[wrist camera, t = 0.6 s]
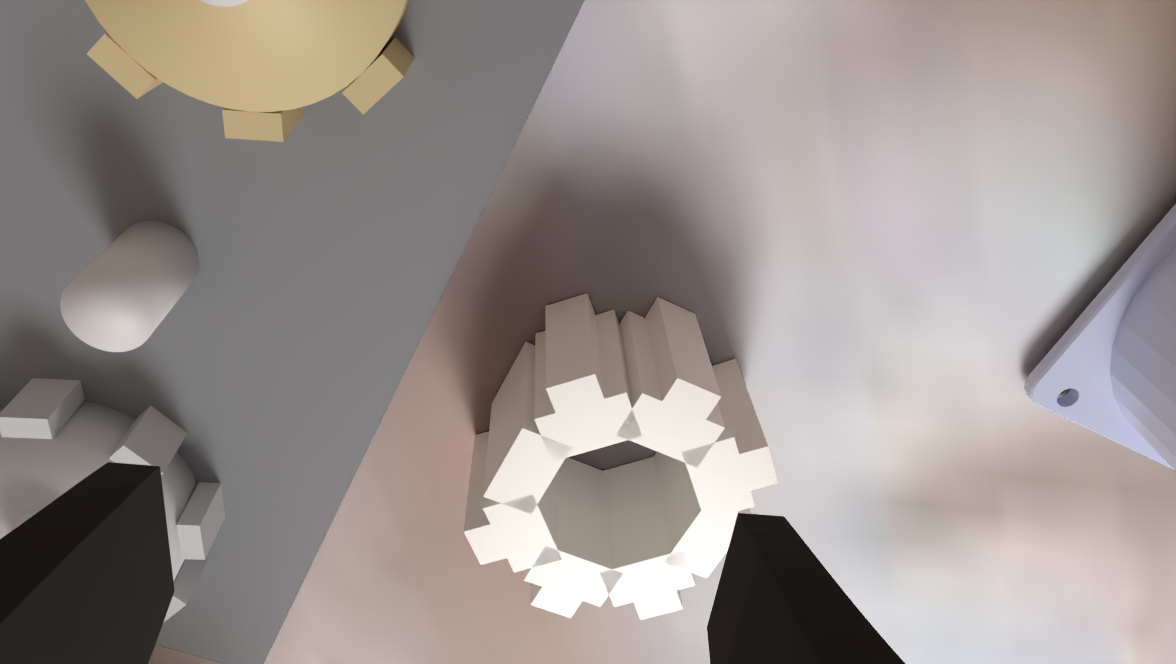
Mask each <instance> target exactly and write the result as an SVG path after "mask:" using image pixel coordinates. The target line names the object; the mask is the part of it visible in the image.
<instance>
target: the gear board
mask: <svg viewBox="0 0 1176 664" xmlns="http://www.w3.org/2000/svg"><path fill="white" fill-rule="evenodd" d="M583 2H584V0H0V539H1V538H2V537H4V536H5V535H7V534H8V533H10V532H11V531H12V530H14V529H15V528H17V527H18V526H20V525H21V524H22V523H24V522H25V521H26V520H28V519H29V518H31V517H32V516H33V515H35V514H36V513H38V512H39V511H40V510H42V509H43V508H44V507H46V506H47V505H49V504H50V503H51V502H53V501H54V500H55V499H57V498H58V497H60V496H61V495H62V494H64V493H65V492H66V491H68V490H69V489H71V488H72V487H73V486H75V485H76V484H77V483H79V482H80V481H82V480H83V479H84V478H86V477H87V476H89V475H90V474H91V473H93V472H94V471H96V470H97V469H99V468H100V467H102V466H103V465H105V464H106V463H108V462H113V463H126V464H138V465H150V466H160V470H161V479H162V487H163V496H164V504H165V513H166V522H167V530H168V539H169V547H170V556H171V564H172V573H173V582H174V590H175V591H174V594H173V597H172V600H171V602H170V605H169V608H168V611H167V614H166V616H165V619H164V622H163V625H162V628H161V631H160V633H159V636H158V639H157V641H156V645H159V646H163V647H166V648H170V649H173V650H177V651H180V652H183V653H187V654H190V655H194V656H197V657H201V658H204V659H207V660H211V661H214V662H218V663H221V664H264V662H265V660H266V658H267V655H268V653H269V651H270V649H271V647H272V645H273V643H274V641H275V639H276V637H277V635H278V633H279V631H280V629H281V627H282V624H283V622H284V620H285V618H286V616H287V614H288V612H289V610H290V608H291V606H292V604H293V602H294V600H295V598H296V596H297V593H298V591H299V589H300V587H301V585H302V583H303V581H304V579H305V577H306V575H307V573H308V571H309V569H310V567H311V564H312V562H313V560H314V558H315V556H316V554H317V552H318V550H319V548H320V546H321V544H322V542H323V540H324V538H325V536H326V533H327V531H328V529H329V527H330V525H331V523H332V521H333V519H334V517H335V515H336V513H337V511H338V509H339V507H340V505H341V502H342V500H343V498H344V496H345V494H346V492H347V490H348V488H349V486H350V484H351V482H352V480H353V478H354V476H355V474H356V471H357V469H358V467H359V465H360V463H361V461H362V459H363V457H364V455H365V453H366V451H367V449H368V447H369V445H370V443H371V440H372V438H373V436H374V434H375V432H376V430H377V428H378V426H379V424H380V422H381V420H382V418H383V416H384V414H385V412H386V409H387V407H388V405H389V403H390V401H391V399H392V397H393V395H394V393H395V391H396V389H397V387H398V385H399V383H400V381H401V378H402V376H403V374H404V372H405V370H406V368H407V366H408V364H409V362H410V360H411V358H412V356H413V354H414V352H415V349H416V347H417V345H418V343H419V341H420V339H421V337H422V335H423V333H424V331H425V329H426V327H427V325H428V323H429V321H430V318H431V316H432V314H433V312H434V310H435V308H436V306H437V304H438V302H439V300H440V298H441V296H442V294H443V292H444V290H445V287H446V285H447V283H448V281H449V279H450V277H451V275H452V273H453V271H454V269H455V267H456V265H457V263H458V261H459V259H460V256H461V254H462V252H463V250H464V248H465V246H466V244H467V242H468V240H469V238H470V236H471V234H472V232H473V230H474V228H475V225H476V223H477V221H478V219H479V217H480V215H481V213H482V211H483V209H484V207H485V205H486V203H487V201H488V199H489V197H490V194H491V192H492V190H493V188H494V186H495V184H496V182H497V180H498V178H499V176H500V174H501V172H502V170H503V168H504V166H505V163H506V161H507V159H508V157H509V155H510V153H511V151H512V149H513V147H514V145H515V143H516V141H517V139H518V137H519V134H520V132H521V130H522V128H523V126H524V124H525V122H526V120H527V118H528V116H529V114H530V112H531V110H532V108H533V106H534V103H535V101H536V99H537V97H538V95H539V93H540V91H541V89H542V87H543V85H544V83H545V81H546V79H547V77H548V75H549V72H550V70H551V68H552V66H553V64H554V62H555V60H556V58H557V56H558V54H559V52H560V50H561V48H562V46H563V44H564V41H565V39H566V37H567V35H568V33H569V31H570V29H571V27H572V25H573V23H574V21H575V19H576V17H577V15H578V13H579V10H580V8H581V6H582V4H583Z"/></svg>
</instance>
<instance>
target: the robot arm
mask: <svg viewBox="0 0 1176 664" xmlns="http://www.w3.org/2000/svg"><path fill="white" fill-rule="evenodd" d="M1070 388H1071V389H1070ZM1024 389H1025V391H1026V394H1027V395H1028V396H1029V398H1030V399H1031V400H1032V401H1033V402H1034V403H1036V404H1037V405H1039V406H1041V407H1043V408H1045V409H1047V410H1049V411H1051V412H1053V413H1056V414H1058V415H1060V416H1062V417H1064V418H1066V419H1068V420H1070V421H1072V422H1075V423H1077V424H1079V425H1081V426H1083V427H1085V428H1087V429H1089V430H1091V431H1093V432H1096V433H1098V434H1100V435H1102V436H1104V437H1106V438H1108V439H1110V440H1112V441H1115V442H1117V443H1119V444H1121V445H1123V446H1125V447H1127V448H1129V449H1131V450H1134V451H1136V452H1138V453H1140V454H1142V455H1144V456H1146V457H1148V458H1150V459H1153V460H1155V461H1157V462H1159V463H1161V464H1163V465H1165V466H1167V467H1169V468H1172V469H1174V470H1175V471H1176V204H1175V205H1174V206H1173V207H1172V208H1171V210H1170V211H1169V212H1168V213H1167V214H1166V215H1165V217H1164V218H1163V219H1162V220H1161V221H1160V222H1159V224H1158V225H1157V226H1156V227H1155V228H1154V229H1153V231H1152V232H1151V233H1150V234H1149V235H1148V236H1147V238H1146V239H1145V240H1144V241H1143V242H1142V243H1141V245H1140V246H1139V247H1138V248H1137V249H1136V250H1135V252H1134V253H1133V254H1132V255H1131V256H1130V258H1129V259H1128V260H1127V261H1126V262H1125V263H1124V265H1123V266H1122V267H1121V268H1120V269H1119V270H1118V272H1117V273H1116V274H1115V275H1114V276H1113V277H1112V279H1111V280H1110V281H1109V282H1108V283H1107V284H1106V286H1105V287H1104V288H1103V289H1102V290H1101V291H1100V293H1099V294H1098V295H1097V296H1096V297H1095V298H1094V300H1093V301H1092V302H1091V303H1090V304H1089V305H1088V307H1087V308H1086V309H1085V310H1084V311H1083V312H1082V314H1081V315H1080V316H1079V317H1078V318H1077V319H1076V321H1075V322H1074V323H1073V324H1072V325H1071V327H1070V328H1069V329H1068V330H1067V331H1066V332H1065V334H1064V335H1063V336H1062V337H1061V338H1060V339H1059V341H1058V342H1057V343H1056V344H1055V345H1054V346H1053V348H1052V349H1051V350H1050V351H1049V352H1048V353H1047V355H1046V356H1045V357H1044V358H1043V359H1042V360H1041V362H1040V363H1039V364H1038V365H1037V366H1036V367H1035V369H1034V370H1033V371H1032V372H1031V373H1030V374H1029V376H1028V378H1027V379H1026V381H1025V387H1024ZM1066 389H1070V390H1069V392H1068V393H1067V394H1066V395H1065V396H1063V397H1060V398H1057V397H1058V396H1059V394H1060V393H1061V392H1062V391H1064V390H1066ZM174 591H175V590H174V582H173V573H172V564H171V556H170V547H169V539H168V530H167V522H166V513H165V504H164V496H163V487H162V479H161V470H160V466H150V465H138V464H126V463H113V462H108V463H106V464H105V465H103V466H102V467H100V468H99V469H97V470H96V471H94V472H93V473H91V474H90V475H89V476H87V477H86V478H84V479H83V480H82V481H80V482H79V483H77V484H76V485H75V486H73V487H72V488H71V489H69V490H68V491H66V492H65V493H64V494H62V495H61V496H60V497H58V498H57V499H55V500H54V501H53V502H51V503H50V504H49V505H47V506H46V507H44V508H43V509H42V510H40V511H39V512H38V513H36V514H35V515H33V516H32V517H31V518H29V519H28V520H26V521H25V522H24V523H22V524H21V525H20V526H18V527H17V528H15V529H14V530H12V531H11V532H10V533H8V534H7V535H5V536H4V537H2V538H1V539H0V664H148V662H149V659H150V657H151V654H152V652H153V649H154V646H155V644H156V641H157V639H158V636H159V633H160V631H161V628H162V625H163V622H164V619H165V616H166V614H167V611H168V608H169V605H170V602H171V600H172V597H173V594H174ZM707 631H708V642H709V652H710V663H711V664H905V663H904V662H903V661H902V660H901V658H900V657H899V656H898V655H897V654H896V653H895V652H894V651H893V649H892V648H891V647H890V646H889V645H888V644H887V643H886V642H885V640H884V639H883V638H882V637H881V636H880V635H879V633H878V632H877V631H876V630H875V629H874V628H873V626H872V625H871V624H870V623H869V622H868V620H867V619H866V618H865V617H864V616H863V615H862V613H861V612H860V611H859V610H858V609H857V607H856V606H855V605H854V604H853V602H852V601H851V600H850V599H849V598H848V596H847V595H846V594H845V593H844V591H843V590H842V589H841V588H840V586H839V585H838V584H837V583H836V581H835V580H834V579H833V578H832V576H831V575H830V574H829V573H828V571H827V570H826V569H825V568H824V566H823V565H822V564H821V563H820V561H819V560H818V559H817V558H816V556H815V555H814V554H813V552H812V551H811V550H810V549H809V547H808V546H807V545H806V544H805V542H804V541H803V540H802V539H801V537H800V536H799V535H798V533H797V532H796V531H795V530H794V528H793V527H792V526H791V525H790V523H789V522H788V521H787V520H786V519H785V517H782V516H770V515H757V514H745V513H738V515H737V518H736V522H735V526H734V530H733V533H732V537H731V541H730V544H729V548H728V552H727V556H726V559H725V563H724V567H723V570H722V574H721V578H720V581H719V585H718V589H717V593H716V596H715V600H714V604H713V607H712V611H711V615H710V619H709V622H708V626H707Z"/></svg>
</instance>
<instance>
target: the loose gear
mask: <svg viewBox="0 0 1176 664" xmlns="http://www.w3.org/2000/svg"><path fill="white" fill-rule="evenodd" d="M545 318H546V330H545V331H542V332H539V333H536V336H535V345H533V344H531V343H528V342H526V341H525V343H524V345H523V347H522V349H521V351H520V352H519V354H518V356H517V358H516V360H515V362H514V363H513V365H512V367H511V369H510V371H509V373H508V374H507V376H506V378H505V380H504V382H503V384H502V385H501V387H500V389H499V391H498V393H497V395H496V396H495V398H494V400H493V402H492V406H491V416H490V427H489V431H488V432H484V433H481V434H478V435H475V439H474V447H473V456H472V465H471V473H470V482H469V491H468V499H467V508H466V517H465V526H464V533H465V535H466V537H467V539H468V541H469V543H470V545H471V547H472V549H473V551H474V553H475V555H476V557H477V558H478V560H479V562H480V564H481V565H483V564H487V563H490V562H494V561H498V560H501V559H505V558H507V559H508V561H509V563H510V565H511V567H512V569H513V571H514V573H515V572H518V571H522V570H524V581H527V582H530V583H531V605H533V606H535V607H538V608H541V609H544V610H547V611H550V612H553V613H556V614H559V615H562V616H565V617H568V618H571V617H572V616H573V614H574V613H575V611H576V610H577V608H578V607H579V605H580V604H581V602H582V601H585V602H588V603H591V604H594V605H597V606H600V607H601V605H602V604H603V602H604V601H605V600H606V598H607V597H608V595H609V596H610V598H611V601H612V603H613V606H614V607H617V606H620V605H624V604H628V603H632V602H634V605H635V607H636V610H637V612H638V615H639V617H640V620H643V619H647V618H651V617H655V616H659V615H662V614H666V613H670V612H674V611H678V610H681V609H683V606H682V600H681V595H680V590H681V589H684V588H688V587H692V586H696V585H695V580H694V575H693V574H696V575H699V576H701V577H704V578H708V576H709V575H710V574H711V572H712V571H713V570H714V568H715V567H716V566H717V564H718V563H719V562H720V560H721V559H722V558H723V556H724V555H725V554H726V552H727V551H728V548H729V544H730V541H731V537H732V533H733V530H734V526H735V522H736V518H737V515H738V513H745V514H751V512H750V509H749V508H752V507H755V505H754V502H753V499H752V495H751V492H750V491H751V490H755V489H759V488H762V487H766V486H769V485H773V484H777V483H778V481H777V477H776V474H775V470H774V466H773V463H772V459H771V455H770V452H769V448H768V445H767V442H766V439H765V437H764V434H763V431H762V429H761V426H760V423H759V420H758V418H757V415H756V412H755V410H754V407H753V404H752V401H751V399H750V396H749V393H748V390H747V388H746V385H745V382H744V380H743V377H742V374H741V371H740V369H739V366H738V363H737V361H736V359H733V360H730V361H726V362H723V363H720V364H716V365H713V366H712V365H711V362H710V359H709V356H708V352H707V349H706V346H705V343H704V340H703V337H702V333H701V330H700V327H699V324H698V321H697V318H696V315H695V314H694V313H692V312H690V311H688V310H685V309H683V308H681V307H679V306H677V305H674V304H672V303H670V302H668V301H665V300H663V299H661V298H659V297H657V299H656V300H655V302H654V304H653V305H652V307H651V309H650V310H649V312H648V313H647V315H646V317H645V318H644V317H642V316H639V315H637V314H635V313H633V312H630V311H627V312H626V314H625V316H624V317H623V319H622V321H621V322H620V324H619V322H618V319H617V316H616V314H615V311H614V310H611V311H608V312H605V313H601V314H598V315H595V313H594V310H593V307H592V305H591V302H590V299H589V296H588V294H587V293H586V294H583V295H580V296H576V297H573V298H570V299H567V300H563V301H560V302H557V303H554V304H550V305H547V306H545ZM627 440H630V441H632V442H634V443H637V444H639V445H642V446H644V447H647V448H649V449H652V450H654V451H657V452H656V453H655V455H654V456H653V457H650V458H647V459H643V460H639V461H636V462H632V463H629V464H625V465H622V466H618V467H615V468H611V469H608V470H604V471H602V470H599V469H597V468H594V467H592V466H589V465H586V464H584V463H581V462H579V461H576V460H573V459H571V458H568V457H571V456H575V455H578V454H582V453H585V452H588V451H592V450H595V449H599V448H602V447H606V446H609V445H613V444H616V443H620V442H623V441H627Z"/></svg>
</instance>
